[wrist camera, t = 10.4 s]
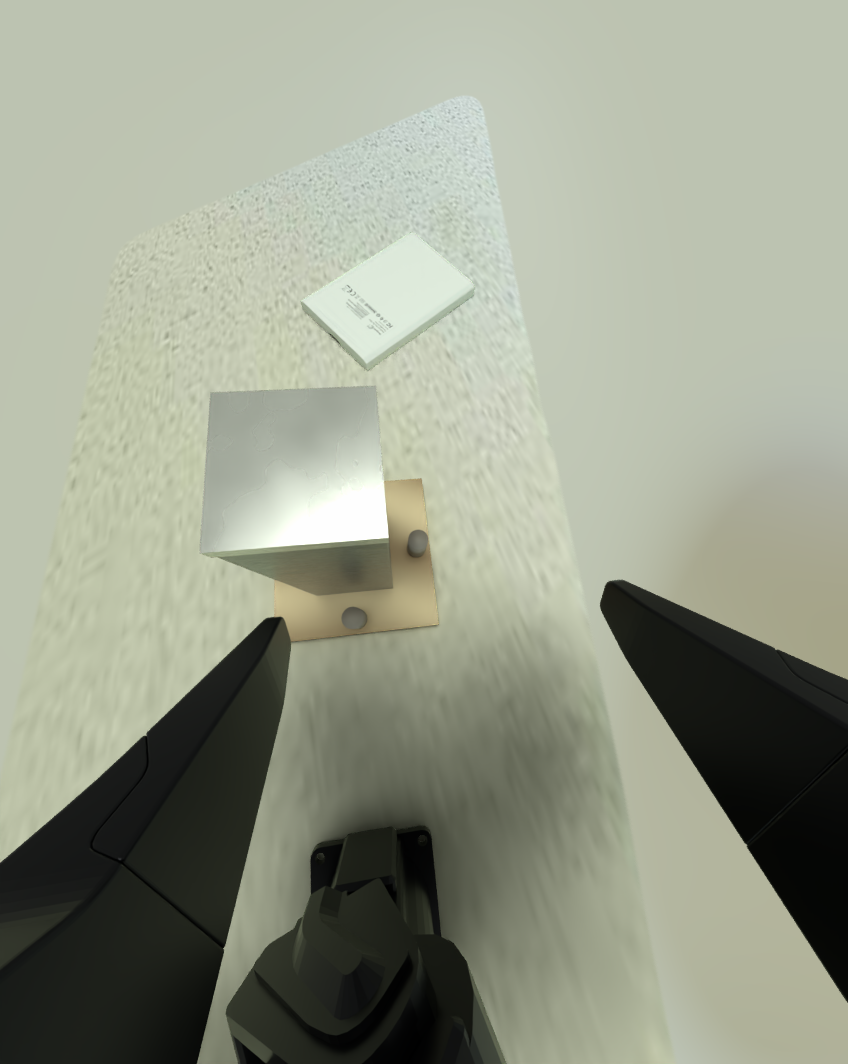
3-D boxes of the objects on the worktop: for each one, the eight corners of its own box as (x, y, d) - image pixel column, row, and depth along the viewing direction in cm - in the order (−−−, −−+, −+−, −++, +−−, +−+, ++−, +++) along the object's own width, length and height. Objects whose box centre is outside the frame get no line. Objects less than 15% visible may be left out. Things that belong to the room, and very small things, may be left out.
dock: (437, 624, 22) (443, 624, 19) (279, 642, 21) (257, 645, 18) (420, 484, 25) (424, 462, 22) (279, 494, 24) (260, 473, 21)
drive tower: (394, 589, 22) (388, 537, 9) (315, 596, 21) (199, 553, 9) (388, 516, 23) (375, 385, 11) (314, 521, 23) (210, 391, 10)
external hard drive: (472, 301, 31) (367, 376, 28) (410, 248, 32) (303, 314, 29) (476, 284, 29) (366, 361, 26) (410, 229, 31) (298, 296, 28)
